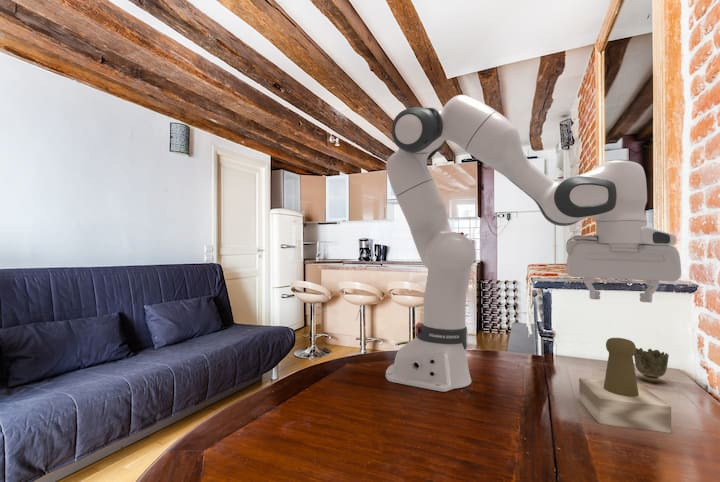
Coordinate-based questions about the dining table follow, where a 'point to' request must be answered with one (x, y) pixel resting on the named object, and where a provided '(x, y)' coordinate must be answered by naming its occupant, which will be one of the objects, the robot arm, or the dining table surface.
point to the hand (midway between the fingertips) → (619, 300)
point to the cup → (651, 364)
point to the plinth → (625, 407)
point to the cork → (621, 368)
